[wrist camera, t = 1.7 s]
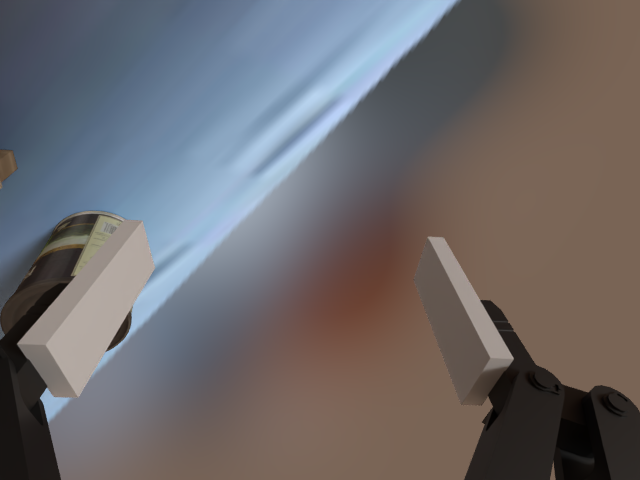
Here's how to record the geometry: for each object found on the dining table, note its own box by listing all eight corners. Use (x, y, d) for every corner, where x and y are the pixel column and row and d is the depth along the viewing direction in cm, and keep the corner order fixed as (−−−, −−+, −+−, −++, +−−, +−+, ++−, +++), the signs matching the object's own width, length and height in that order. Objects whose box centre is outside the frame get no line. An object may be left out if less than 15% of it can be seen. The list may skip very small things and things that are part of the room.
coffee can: (50, 272, 43) (1, 361, 32) (53, 202, 39) (-4, 276, 27) (140, 280, 47) (124, 360, 36) (151, 218, 43) (136, 287, 32)
